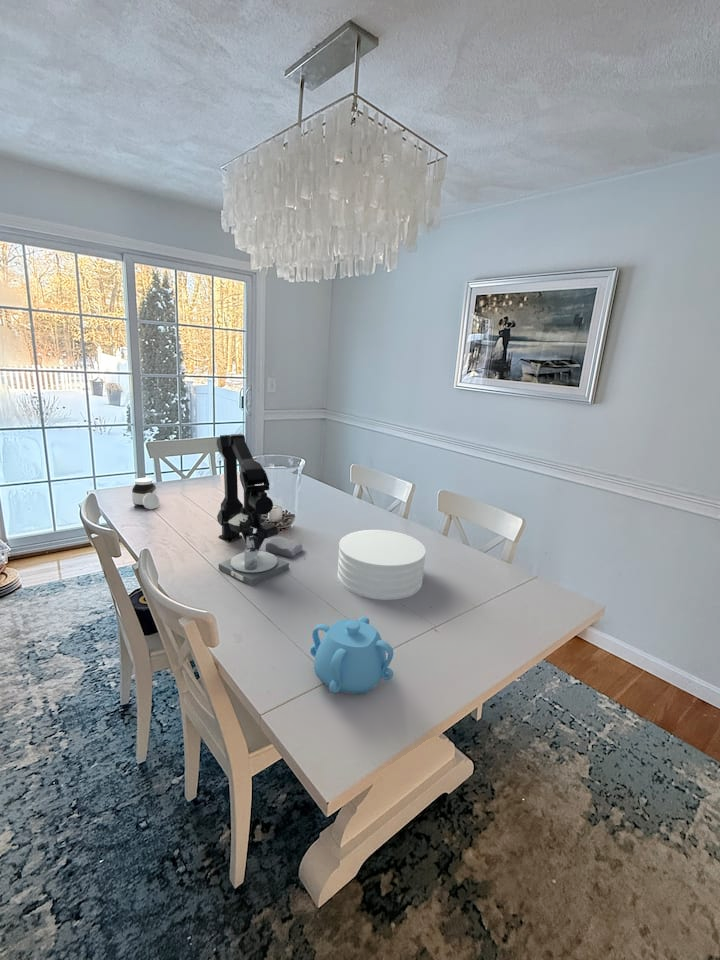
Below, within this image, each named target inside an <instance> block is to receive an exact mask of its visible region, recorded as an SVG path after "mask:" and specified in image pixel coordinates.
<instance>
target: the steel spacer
mask: <svg viewBox="0 0 720 960" xmlns="http://www.w3.org/2000/svg"><path fill="white" fill-rule="evenodd" d="M253 533H254V532H253ZM253 533H251V534H253ZM251 534H248V535H247V536H246V543H245V545H246V548H255V538H254V537H253V536H252V535H251ZM246 548H245V549H246ZM259 550H260V549H259ZM259 550H258V551H257V554H258V553H259Z"/></svg>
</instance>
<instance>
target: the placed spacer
mask: <svg viewBox="0 0 720 960" xmlns="http://www.w3.org/2000/svg"><path fill="white" fill-rule="evenodd" d="M243 552H244V568H245V569H246V570H255V569H257V549H256V548H244V550H243Z"/></svg>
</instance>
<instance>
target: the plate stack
mask: <svg viewBox="0 0 720 960" xmlns="http://www.w3.org/2000/svg"><path fill="white" fill-rule="evenodd" d="M426 552H427V551H426V547H425V546H424V544H423V543H422V542H421V541H419V540H418V539H416V538H415V537H413V536H411V535H409V534H405V533H402V532H398V531H393V530H385V529H363V530H362V529H361V530H358V531H352V532H351V533H347V534H346V535H344V536H343V537H342V538H341V539H340V540H339V543H338V560H337V580H338V582H339V583H340V585H341V586H342V587H343V588H344V589H345V590H347V591H349V592H351V593H353V594H355V595H357V596H361V597H363V598H368V599H373V600H383V601H386V600H387V601H391V600H399V599H400V600H401V599H405V598H408V597H412V596H413V595H415V594H416V593H418V592H419V591H420V589H421V588H422V585H423V579H424V570H425V562H426Z"/></svg>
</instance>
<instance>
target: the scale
mask: <svg viewBox="0 0 720 960" xmlns="http://www.w3.org/2000/svg"><path fill="white" fill-rule="evenodd" d="M288 569H290V562H287V561H286V560H283V559H280V558H279V557H277V556H276V554H274V553H272V552H269V551H263V550H260V549H259V553H258V554H257V569H255V570H246V569H245V568H244V551H243V552H240V553H238V554H236V555H233V557H232V558H230V559H227V560H225V561H221V562H219V563H218V570H220V571H222V572H223V573H226V574H227V575H229V576H231V577H233V578H235V579H237V580H239V581H240V582H243V583H245V584H247V585H249V586H254V585H258V584H259V583H260V582H263V581H266V580H267V579H269V578H271V577H273V576H276V575H278V574H280V573H283V572H284V571H286V570H288Z"/></svg>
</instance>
